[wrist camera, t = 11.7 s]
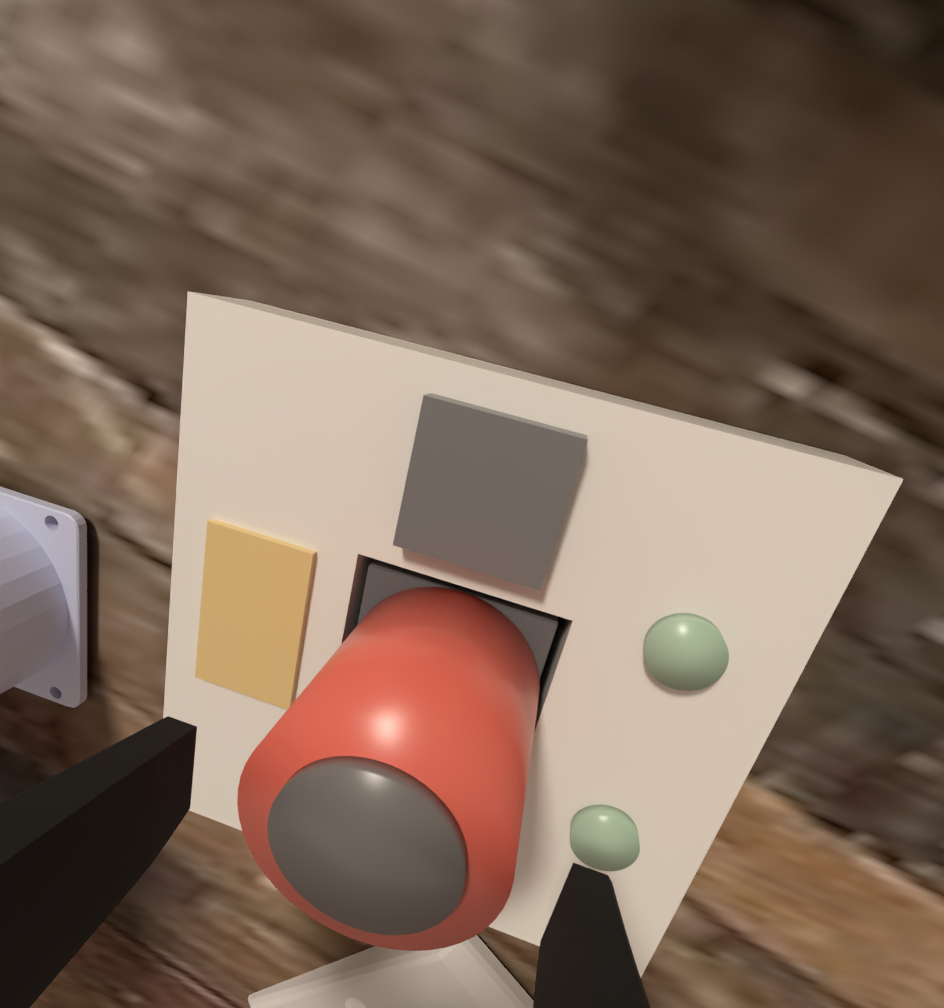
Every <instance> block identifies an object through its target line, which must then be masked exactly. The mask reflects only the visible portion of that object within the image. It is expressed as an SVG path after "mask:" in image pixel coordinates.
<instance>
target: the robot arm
mask: <svg viewBox="0 0 944 1008" xmlns="http://www.w3.org/2000/svg"><path fill="white" fill-rule="evenodd" d="M57 521H58V522H57ZM13 686H14V687H16V688H19V689H22V690H24V691H27V692H30V693H32V694H35V695H38V696H40V697H43V698H46V699H48V700H51V701H54V702H56V703H59V704H62V705H64V706H67V707H72V708H74V707H77V706H78V705H80V704H81V703H83V702H84V701H85V700H86V698H87V525H86V521H85V519H84V518H83V517H82V516H81V515H80V514H79V513H78V512H76V511H74V510H71V509H68V508H65V507H62V506H59V505H56V504H52V503H49V502H46V501H43V500H40V499H37V498H34V497H31V496H28V495H25V494H22V493H19V492H16V491H12V490H9V489H6V488H3V487H0V694H2V693H3V692H5V691H7V690H8V689H10V688H12V687H13ZM196 733H197V726H194V725H191V724H189V723H186V722H183V721H180V720H177V719H175V718H172V717H169V716H167V717H166V718H164V719H162V720H160V721H158V722H156V723H154V724H152V725H150V726H148V727H146V728H144V729H142V730H140V731H138V732H137V733H135V734H133V735H131V736H129V737H127V738H125V739H123V740H122V741H120V742H118V743H116V744H114V745H112V746H110V747H108V748H107V749H105V750H103V751H101V752H99V753H97V754H95V755H93V756H91V757H90V758H88V759H86V760H84V761H82V762H80V763H78V764H76V765H74V766H73V767H71V768H69V769H67V770H65V771H63V772H61V773H59V774H57V775H55V776H53V777H51V778H49V779H47V780H45V781H43V782H41V783H39V784H37V785H35V786H34V787H32V788H30V789H28V790H26V791H24V792H22V793H20V794H18V795H16V796H14V797H12V798H10V799H8V800H6V801H4V802H2V803H0V1008H30V1006H31V1005H32V1004H33V1003H34V1002H35V1001H36V999H37V998H38V997H39V996H40V995H41V993H42V992H43V991H44V990H45V989H46V988H47V986H48V985H49V984H50V983H51V982H52V981H53V979H54V978H55V977H56V976H57V975H58V974H59V972H60V971H61V970H62V969H63V968H64V967H65V965H66V964H67V963H68V962H69V961H70V959H71V958H72V957H73V956H74V955H75V954H76V952H77V951H78V950H79V949H80V948H81V947H82V945H83V944H84V943H85V942H86V941H87V940H88V938H89V937H90V936H91V935H92V934H93V933H94V931H95V930H96V929H97V928H98V927H99V926H100V924H101V923H102V922H103V921H104V920H105V919H106V917H107V916H108V915H109V914H110V913H111V911H112V910H113V909H114V908H115V907H116V906H117V904H118V903H119V902H120V901H121V900H122V898H123V897H124V896H125V895H126V894H127V893H128V891H129V890H130V889H131V888H132V887H133V885H134V884H135V883H136V882H137V881H138V879H139V878H140V877H141V876H142V875H143V873H144V872H145V871H146V870H147V869H148V867H149V866H150V865H151V863H152V862H153V861H154V859H155V858H156V856H157V855H158V854H159V852H160V851H161V849H162V848H163V847H164V845H165V844H166V842H167V841H168V840H169V838H170V837H171V835H172V834H173V832H174V831H175V829H176V828H177V826H178V825H179V824H180V822H181V821H182V819H183V818H184V816H185V815H186V813H187V812H188V810H189V809H190V804H191V792H192V781H193V769H194V757H195V745H196ZM533 1008H650V1005H649V1002H648V999H647V996H646V993H645V990H644V987H643V984H642V981H641V978H640V975H639V972H638V969H637V966H636V962H635V959H634V956H633V953H632V950H631V946H630V943H629V940H628V936H627V933H626V930H625V926H624V923H623V920H622V916H621V913H620V909H619V906H618V902H617V898H616V895H615V891H614V887H613V884H612V881H611V879H610V878H609V876H608V875H606V874H604V873H601V872H598V871H595V870H593V869H590V868H587V867H584V866H582V865H579V864H576V863H573V864H572V867H571V869H570V871H569V874H568V876H567V879H566V881H565V883H564V886H563V888H562V891H561V893H560V895H559V898H558V900H557V903H556V905H555V907H554V910H553V912H552V915H551V917H550V920H549V922H548V924H547V927H546V929H545V932H544V934H543V936H542V939H541V941H540V950H539V958H538V966H537V975H536V983H535V993H534V1002H533Z"/></svg>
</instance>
